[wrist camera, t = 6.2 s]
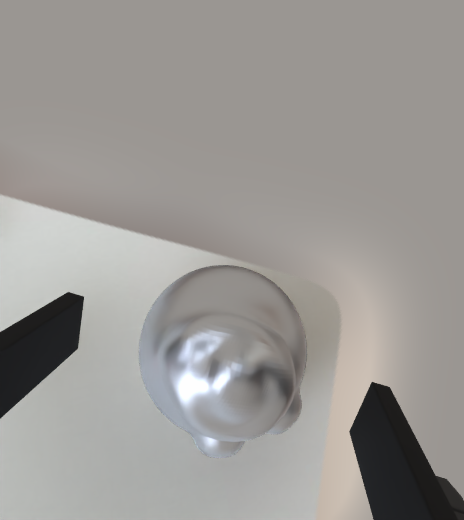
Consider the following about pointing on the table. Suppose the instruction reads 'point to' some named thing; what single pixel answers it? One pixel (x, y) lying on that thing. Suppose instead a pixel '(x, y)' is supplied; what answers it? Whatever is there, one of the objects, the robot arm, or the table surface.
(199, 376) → the ghost figurine
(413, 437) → the robot arm
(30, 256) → the table surface
